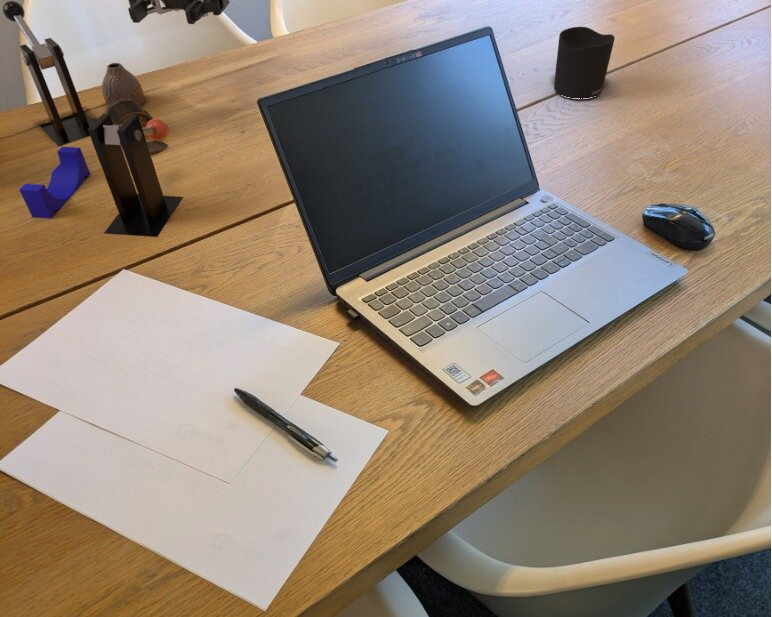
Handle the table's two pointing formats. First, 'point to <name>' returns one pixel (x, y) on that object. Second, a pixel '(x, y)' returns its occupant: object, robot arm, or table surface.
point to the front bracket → (135, 210)
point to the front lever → (153, 129)
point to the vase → (121, 85)
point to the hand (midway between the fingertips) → (160, 16)
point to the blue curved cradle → (57, 184)
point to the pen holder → (582, 62)
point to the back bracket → (57, 128)
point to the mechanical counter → (128, 107)
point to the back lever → (29, 34)
